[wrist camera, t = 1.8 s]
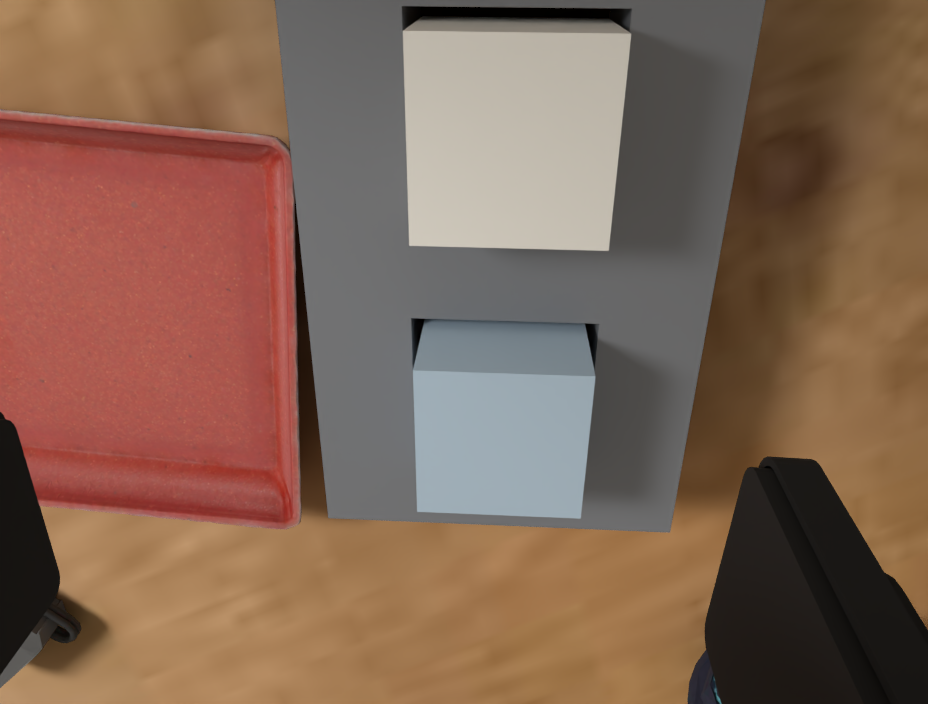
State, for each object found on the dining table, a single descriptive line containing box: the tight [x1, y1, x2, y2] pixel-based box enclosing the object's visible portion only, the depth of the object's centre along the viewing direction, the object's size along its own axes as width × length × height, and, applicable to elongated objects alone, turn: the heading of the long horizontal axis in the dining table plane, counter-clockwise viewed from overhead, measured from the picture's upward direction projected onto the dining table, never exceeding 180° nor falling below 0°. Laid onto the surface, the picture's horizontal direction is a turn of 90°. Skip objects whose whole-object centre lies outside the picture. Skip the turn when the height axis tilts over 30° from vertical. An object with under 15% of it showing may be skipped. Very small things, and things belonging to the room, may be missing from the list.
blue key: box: [413, 319, 596, 519], centre depth 27 cm, size 6×6×5 cm
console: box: [275, 0, 766, 532], centre depth 27 cm, size 22×14×5 cm, turn 0°
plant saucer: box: [0, 109, 301, 529], centre depth 31 cm, size 18×18×3 cm
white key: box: [403, 16, 631, 251], centre depth 22 cm, size 6×6×5 cm
